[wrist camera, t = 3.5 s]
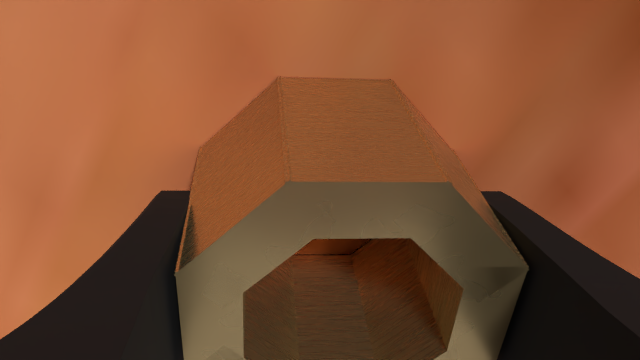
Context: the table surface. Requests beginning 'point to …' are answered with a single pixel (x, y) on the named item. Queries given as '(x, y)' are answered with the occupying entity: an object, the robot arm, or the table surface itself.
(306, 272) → the ring
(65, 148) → the table surface
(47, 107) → the table surface
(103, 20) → the table surface
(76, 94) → the table surface
